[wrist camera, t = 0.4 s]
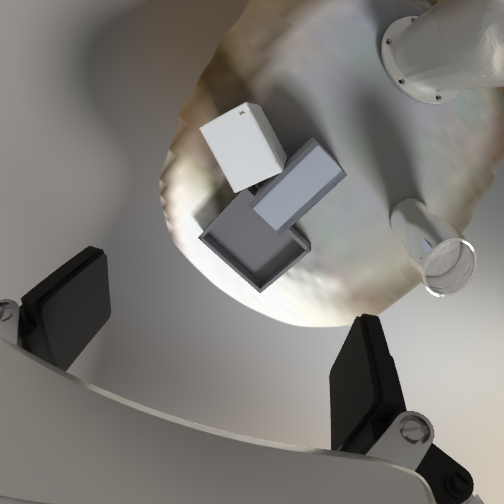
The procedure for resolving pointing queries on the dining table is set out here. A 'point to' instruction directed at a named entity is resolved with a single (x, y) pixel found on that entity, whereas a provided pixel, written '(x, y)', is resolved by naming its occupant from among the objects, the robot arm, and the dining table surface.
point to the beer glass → (434, 248)
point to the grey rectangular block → (297, 186)
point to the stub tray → (253, 243)
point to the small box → (244, 146)
